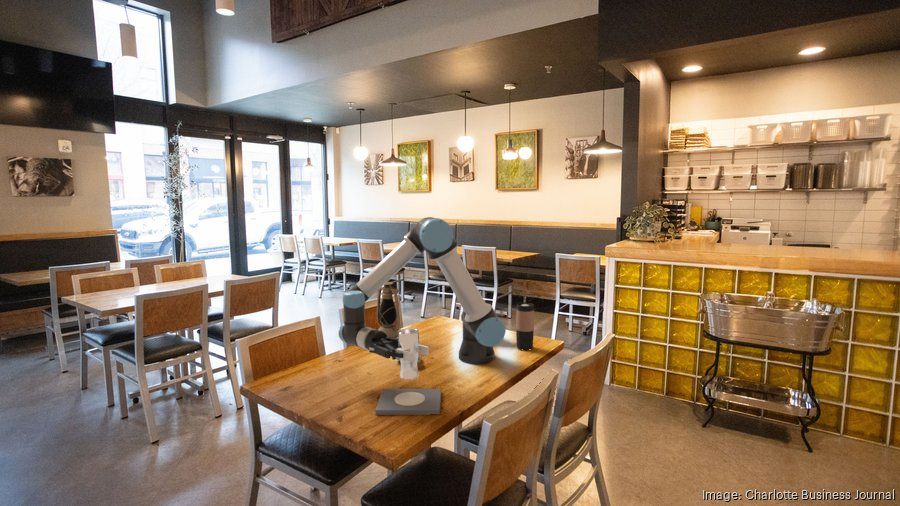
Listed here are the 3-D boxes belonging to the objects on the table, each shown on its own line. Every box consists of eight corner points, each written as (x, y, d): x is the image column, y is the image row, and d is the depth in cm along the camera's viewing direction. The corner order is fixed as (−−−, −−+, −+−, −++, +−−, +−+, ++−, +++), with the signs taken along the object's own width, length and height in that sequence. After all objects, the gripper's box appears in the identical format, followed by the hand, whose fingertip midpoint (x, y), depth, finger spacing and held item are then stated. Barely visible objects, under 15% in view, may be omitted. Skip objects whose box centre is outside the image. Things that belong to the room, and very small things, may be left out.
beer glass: (398, 372, 154) (398, 328, 152) (419, 371, 154) (419, 328, 153) (398, 380, 147) (397, 334, 145) (420, 379, 148) (419, 334, 146)
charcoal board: (440, 392, 160) (440, 388, 159) (439, 414, 144) (439, 409, 144) (383, 393, 160) (383, 388, 160) (375, 414, 144) (375, 409, 144)
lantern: (408, 337, 223) (407, 275, 219) (391, 343, 213) (389, 279, 210) (386, 332, 231) (384, 273, 228) (368, 338, 222) (367, 276, 218)
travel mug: (522, 352, 201) (523, 307, 198) (512, 347, 208) (513, 303, 205) (536, 349, 204) (537, 305, 202) (526, 344, 211) (527, 301, 209)
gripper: (393, 343, 169) (440, 357, 154) (350, 357, 154) (397, 374, 139) (393, 323, 168) (440, 335, 153) (349, 336, 153) (397, 350, 139)
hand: (419, 354), depth 146 cm, fingers closed on beer glass, 7 cm apart
